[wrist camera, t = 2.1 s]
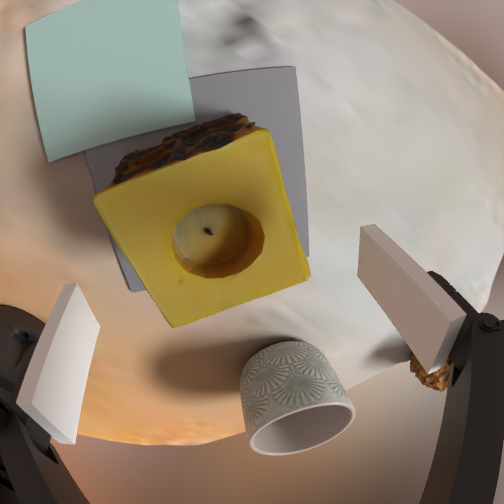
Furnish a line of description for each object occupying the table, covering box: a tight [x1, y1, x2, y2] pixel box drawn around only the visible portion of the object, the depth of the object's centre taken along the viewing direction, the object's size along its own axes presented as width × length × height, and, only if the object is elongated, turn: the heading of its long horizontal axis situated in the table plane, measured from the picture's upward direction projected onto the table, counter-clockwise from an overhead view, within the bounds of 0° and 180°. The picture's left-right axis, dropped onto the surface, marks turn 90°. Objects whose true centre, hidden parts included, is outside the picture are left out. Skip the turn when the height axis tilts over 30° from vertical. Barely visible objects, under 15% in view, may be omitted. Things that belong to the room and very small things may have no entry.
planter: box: [240, 341, 355, 455], centre depth 34 cm, size 12×12×11 cm
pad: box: [25, 0, 196, 163], centre depth 18 cm, size 13×13×1 cm
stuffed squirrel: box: [410, 354, 452, 392], centre depth 40 cm, size 10×14×13 cm
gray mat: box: [84, 67, 309, 292], centre depth 25 cm, size 18×18×1 cm
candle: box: [93, 113, 311, 328], centre depth 21 cm, size 10×10×10 cm
